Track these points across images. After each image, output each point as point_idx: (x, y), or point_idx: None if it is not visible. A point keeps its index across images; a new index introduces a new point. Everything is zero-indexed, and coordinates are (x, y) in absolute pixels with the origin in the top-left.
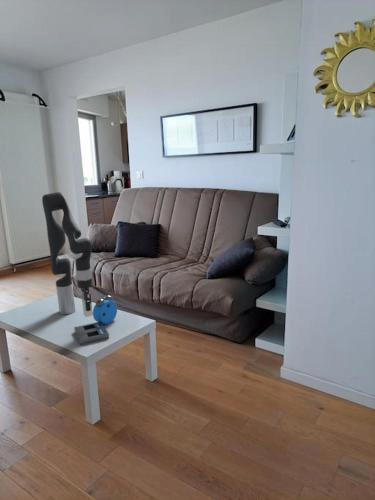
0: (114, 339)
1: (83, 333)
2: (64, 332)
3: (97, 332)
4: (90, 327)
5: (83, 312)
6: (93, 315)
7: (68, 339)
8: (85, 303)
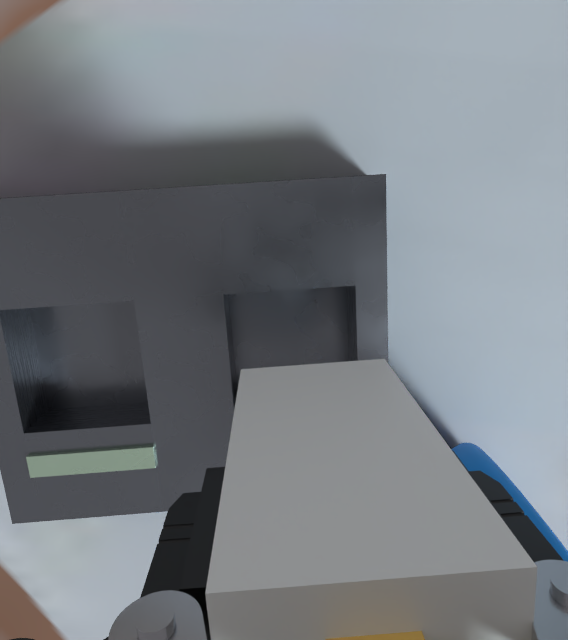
0: (15, 526)
1: (133, 266)
2: (441, 56)
3: (142, 416)
4: (351, 360)
5: (376, 375)
6: (476, 466)
7: (217, 85)
8: (140, 625)
